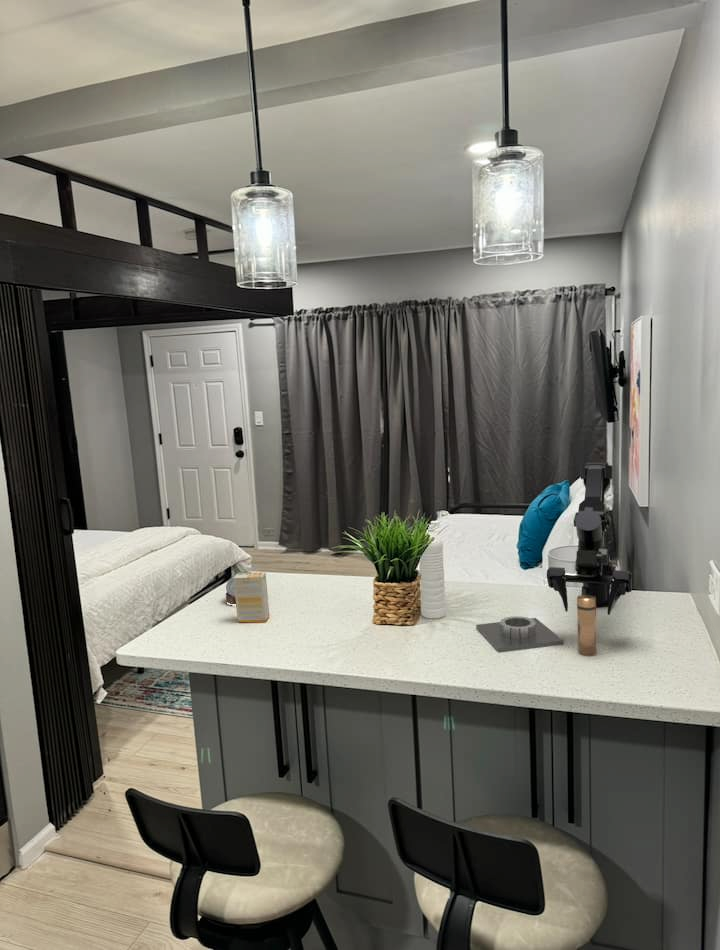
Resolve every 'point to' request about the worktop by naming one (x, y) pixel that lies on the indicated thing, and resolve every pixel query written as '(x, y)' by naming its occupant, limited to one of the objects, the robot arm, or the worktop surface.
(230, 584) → the canned food
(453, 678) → the worktop surface
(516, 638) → the plate
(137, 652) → the worktop surface
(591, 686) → the worktop surface
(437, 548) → the water bottle
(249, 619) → the supplement box
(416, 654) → the worktop surface
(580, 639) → the copper cylindrical bottle
